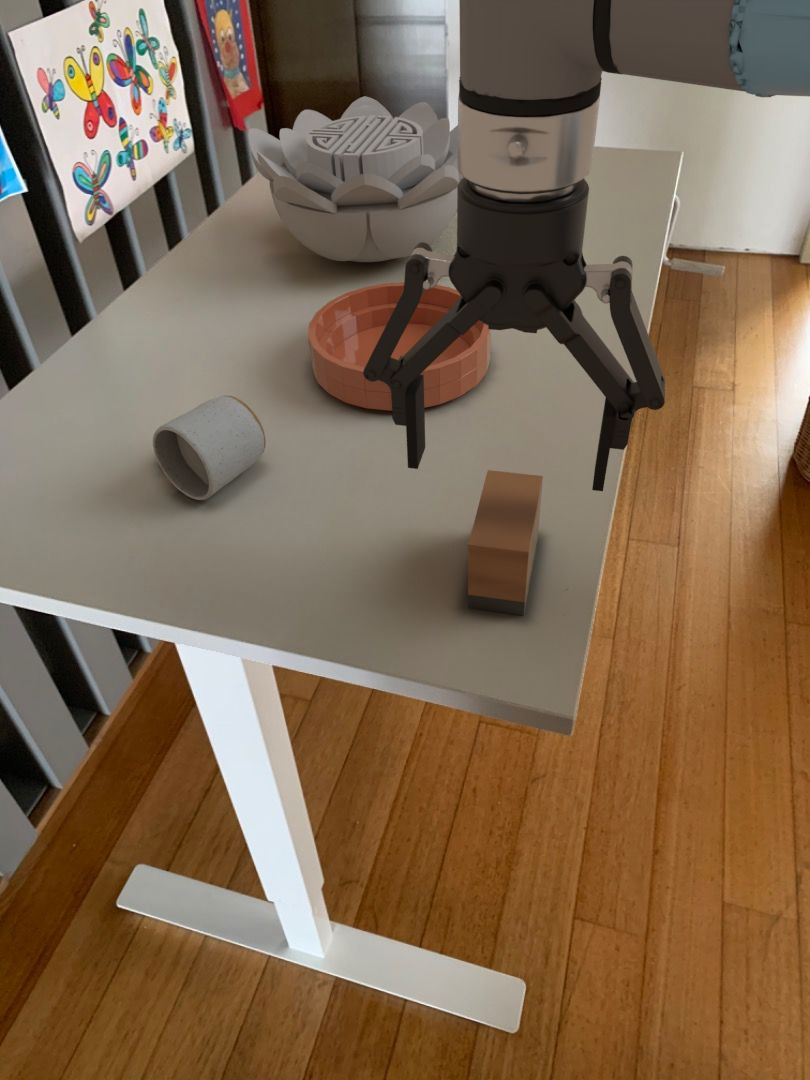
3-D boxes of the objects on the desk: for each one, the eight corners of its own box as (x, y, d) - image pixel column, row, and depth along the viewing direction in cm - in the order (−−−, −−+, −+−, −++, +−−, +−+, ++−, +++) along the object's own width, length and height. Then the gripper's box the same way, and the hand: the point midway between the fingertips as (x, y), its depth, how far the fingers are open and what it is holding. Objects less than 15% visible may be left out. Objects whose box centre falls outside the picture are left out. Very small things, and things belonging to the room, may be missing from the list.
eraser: (485, 532, 74) (487, 469, 69) (537, 538, 73) (542, 475, 68) (467, 607, 67) (468, 544, 62) (524, 615, 66) (528, 552, 62)
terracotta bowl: (501, 327, 99) (503, 287, 96) (472, 423, 85) (473, 381, 82) (342, 315, 103) (338, 276, 100) (289, 405, 89) (283, 364, 86)
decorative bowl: (305, 197, 131) (291, 91, 120) (493, 210, 124) (496, 99, 114) (222, 287, 110) (197, 169, 100) (443, 309, 103) (441, 184, 93)
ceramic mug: (277, 465, 82) (263, 398, 77) (218, 512, 77) (199, 444, 72) (200, 433, 87) (182, 367, 81) (140, 475, 82) (117, 409, 77)
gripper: (294, 190, 48) (330, 479, 62) (757, 217, 43) (679, 523, 58) (333, 144, 53) (358, 420, 68) (749, 163, 48) (679, 456, 63)
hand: (505, 468), depth 63 cm, fingers open, 13 cm apart
